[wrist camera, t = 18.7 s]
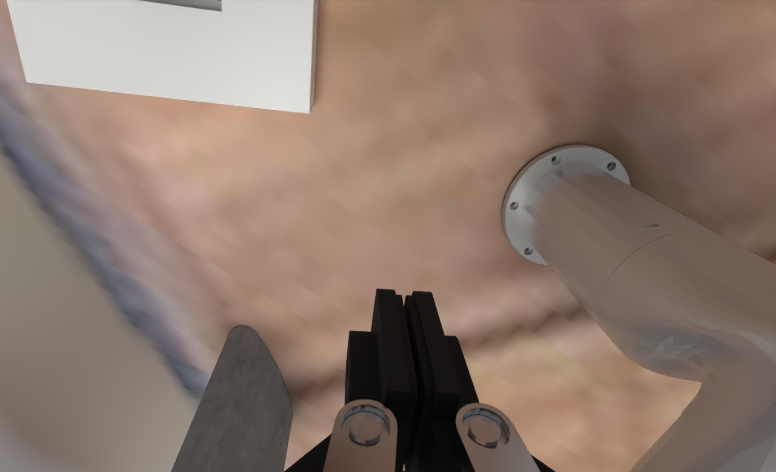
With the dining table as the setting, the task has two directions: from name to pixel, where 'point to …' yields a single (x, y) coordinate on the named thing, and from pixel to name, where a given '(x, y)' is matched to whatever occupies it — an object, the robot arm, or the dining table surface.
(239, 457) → the hip flask
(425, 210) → the dining table surface
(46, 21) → the socket
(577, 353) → the dining table surface
